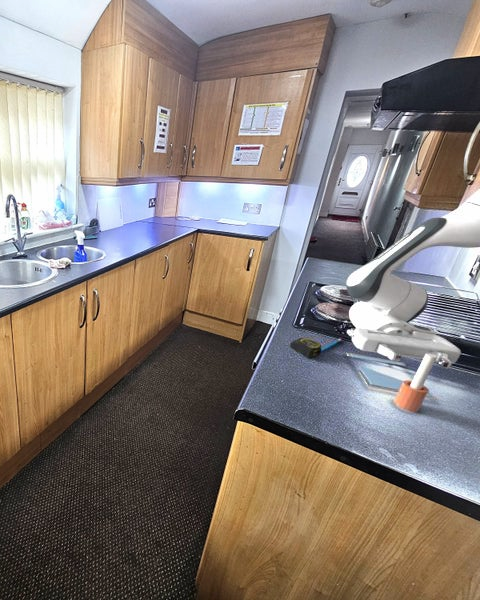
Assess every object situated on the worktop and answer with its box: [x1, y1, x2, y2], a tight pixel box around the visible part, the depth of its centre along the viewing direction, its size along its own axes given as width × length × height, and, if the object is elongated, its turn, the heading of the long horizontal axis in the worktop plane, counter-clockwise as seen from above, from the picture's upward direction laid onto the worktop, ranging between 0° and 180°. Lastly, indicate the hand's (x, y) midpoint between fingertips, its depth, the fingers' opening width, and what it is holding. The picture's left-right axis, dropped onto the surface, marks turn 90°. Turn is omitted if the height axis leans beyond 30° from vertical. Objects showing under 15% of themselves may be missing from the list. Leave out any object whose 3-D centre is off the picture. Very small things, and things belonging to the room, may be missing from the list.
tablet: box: [344, 352, 439, 401], centre depth 90 cm, size 14×18×1 cm
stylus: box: [410, 353, 437, 390], centre depth 75 cm, size 2×2×14 cm
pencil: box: [321, 338, 343, 353], centre depth 103 cm, size 1×17×1 cm, turn 122°
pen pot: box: [393, 380, 430, 413], centre depth 77 cm, size 4×4×6 cm
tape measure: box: [289, 337, 322, 359], centre depth 99 cm, size 7×7×4 cm
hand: (421, 361), depth 76 cm, fingers open, 8 cm apart
